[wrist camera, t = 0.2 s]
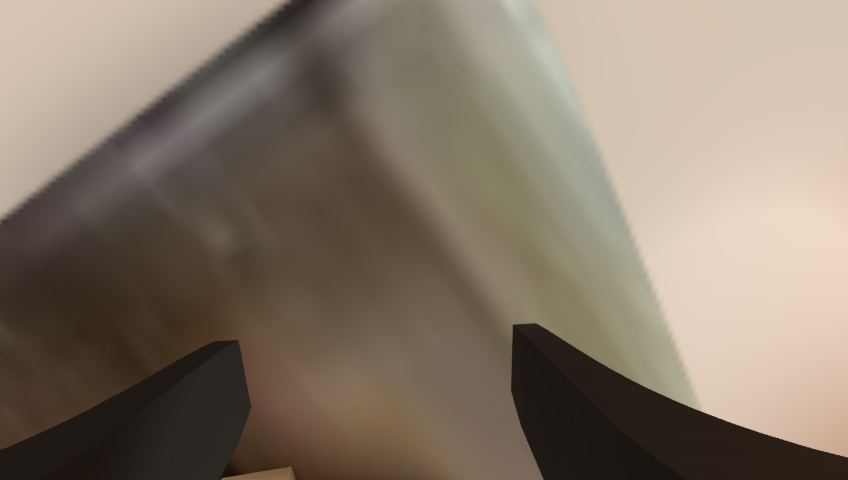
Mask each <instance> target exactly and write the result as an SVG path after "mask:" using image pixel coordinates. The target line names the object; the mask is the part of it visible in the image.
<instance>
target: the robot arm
mask: <svg viewBox="0 0 848 480" xmlns="http://www.w3.org/2000/svg"><path fill="white" fill-rule="evenodd" d="M511 392H512V395H513V399H514V403H515V407H516V410H517V414H518V417H519V420H520V424H521V427H522V429H523V432H524V434H525V436H526V439H527V441H528V444H529V446H530V448H531V451H532V453H533V455H534V458H535V460H536V462H537V465H538V467H539V469H540V472H541V474H542V476H543V479H544V480H848V458H847V457H844V456H840V455H835V454H831V453H828V452H824V451H819V450H816V449H812V448H809V447H805V446H802V445H798V444H795V443H792V442H789V441H785V440H782V439H779V438H775V437H772V436H769V435H765V434H762V433H759V432H756V431H753V430H750V429H747V428H744V427H741V426H738V425H735V424H733V423H730V422H727V421H725V420H722V419H719V418H717V417H714V416H711V415H709V414H706V413H703V412H701V411H698V410H696V409H693V408H691V407H688V406H686V405H683V404H681V403H679V402H676V401H674V400H672V399H670V398H667V397H665V396H663V395H661V394H659V393H657V392H654V391H652V390H650V389H648V388H646V387H644V386H642V385H640V384H638V383H636V382H634V381H632V380H630V379H628V378H626V377H624V376H623V375H621V374H619V373H617V372H615V371H613V370H612V369H610V368H608V367H606V366H605V365H603V364H601V363H599V362H598V361H596V360H594V359H593V358H591V357H589V356H588V355H586V354H584V353H583V352H581V351H580V350H578V349H576V348H575V347H573V346H572V345H570V344H569V343H567V342H565V341H564V340H562V339H561V338H559V337H558V336H556V335H555V334H553V333H551V332H550V331H548V330H547V329H545V328H543V327H542V326H540V325H538V324H536V323H534V324H516V325H513V342H512V380H511ZM250 408H251V404H250V399H249V394H248V389H247V383H246V378H245V373H244V367H243V362H242V357H241V352H240V346H239V341H238V340H234V341H216V342H213V343H210V344H208V345H206V346H204V347H202V348H200V349H198V350H196V351H194V352H192V353H190V354H188V355H187V356H185V357H183V358H181V359H180V360H178V361H176V362H174V363H173V364H171V365H169V366H167V367H166V368H164V369H162V370H160V371H159V372H157V373H155V374H153V375H152V376H150V377H148V378H146V379H145V380H143V381H141V382H139V383H137V384H136V385H134V386H132V387H130V388H128V389H126V390H125V391H123V392H121V393H119V394H117V395H115V396H113V397H111V398H110V399H108V400H106V401H104V402H102V403H100V404H98V405H97V406H95V407H93V408H91V409H89V410H87V411H85V412H83V413H81V414H79V415H77V416H75V417H73V418H71V419H69V420H67V421H65V422H63V423H61V424H59V425H56V426H54V427H52V428H50V429H48V430H46V431H43V432H41V433H39V434H37V435H35V436H32V437H30V438H28V439H26V440H24V441H21V442H19V443H17V444H14V445H12V446H10V447H7V448H5V449H2V450H0V480H220V478H221V476H222V474H223V472H224V470H225V468H226V466H227V464H228V462H229V460H230V458H231V456H232V454H233V452H234V450H235V448H236V446H237V444H238V442H239V439H240V436H241V434H242V431H243V429H244V426H245V423H246V420H247V417H248V414H249V411H250Z"/></svg>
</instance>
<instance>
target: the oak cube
mask: <svg viewBox="0 0 848 480" xmlns="http://www.w3.org/2000/svg"><path fill="white" fill-rule="evenodd" d="M221 480H296V479H295V476H294V473H293V470H292V467H285V468H279V469H273V470H267V471H261V472H256V473H250V474H244V475H238V476H232V477H226V478H222V479H221Z"/></svg>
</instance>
